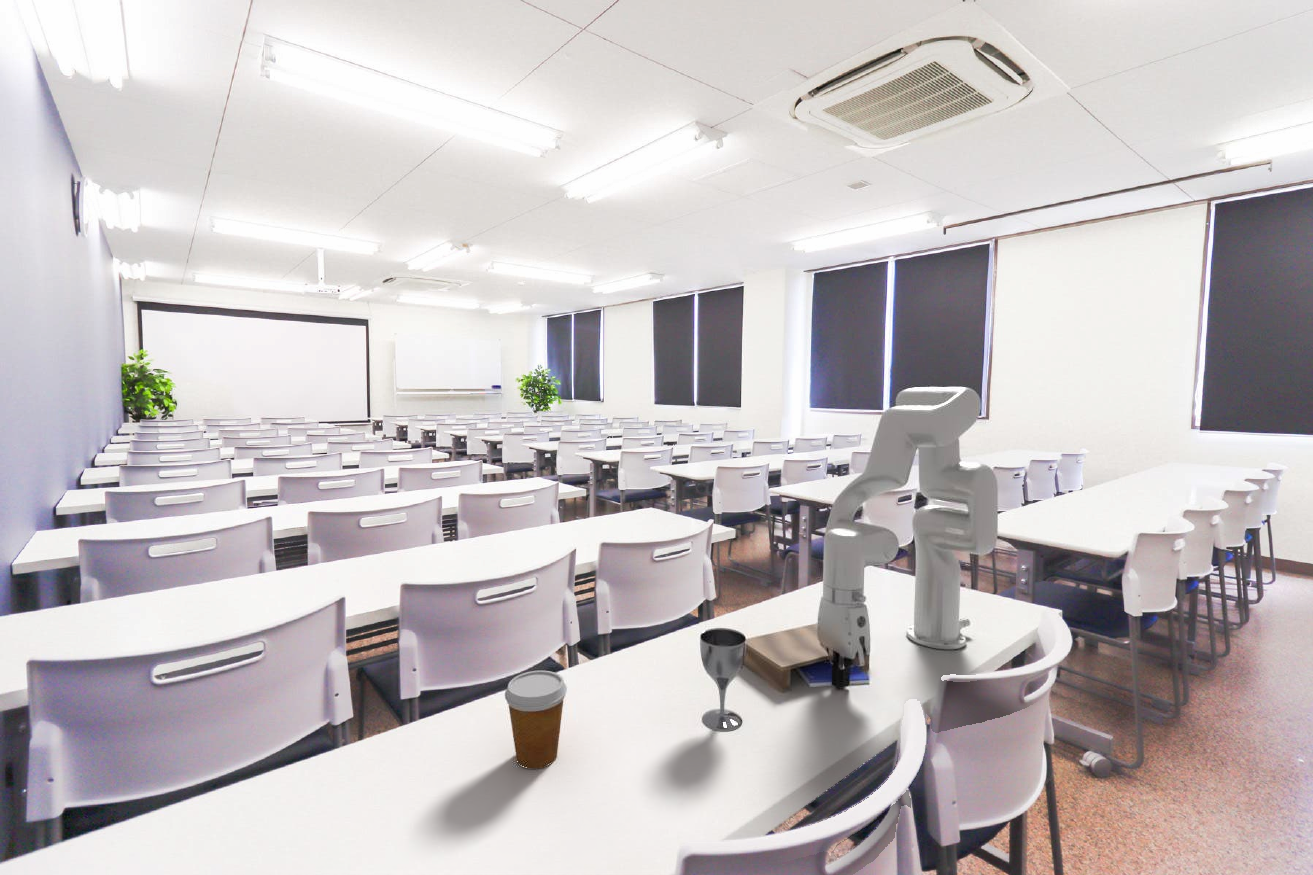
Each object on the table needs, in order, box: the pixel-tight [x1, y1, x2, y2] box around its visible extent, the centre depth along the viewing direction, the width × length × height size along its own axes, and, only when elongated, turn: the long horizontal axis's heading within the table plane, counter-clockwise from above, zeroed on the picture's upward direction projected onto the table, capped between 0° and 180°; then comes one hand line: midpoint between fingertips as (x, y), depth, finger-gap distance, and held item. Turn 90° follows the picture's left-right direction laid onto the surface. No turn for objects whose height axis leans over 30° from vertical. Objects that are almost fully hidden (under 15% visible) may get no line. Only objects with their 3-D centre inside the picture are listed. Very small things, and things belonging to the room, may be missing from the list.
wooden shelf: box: [743, 622, 871, 693], centre depth 123 cm, size 23×14×5 cm, turn 116°
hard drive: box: [794, 661, 870, 688], centre depth 119 cm, size 2×8×12 cm
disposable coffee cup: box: [504, 670, 568, 770], centre depth 92 cm, size 10×10×12 cm
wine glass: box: [699, 627, 747, 732], centre depth 102 cm, size 8×8×15 cm
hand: (840, 685), depth 114 cm, fingers closed
